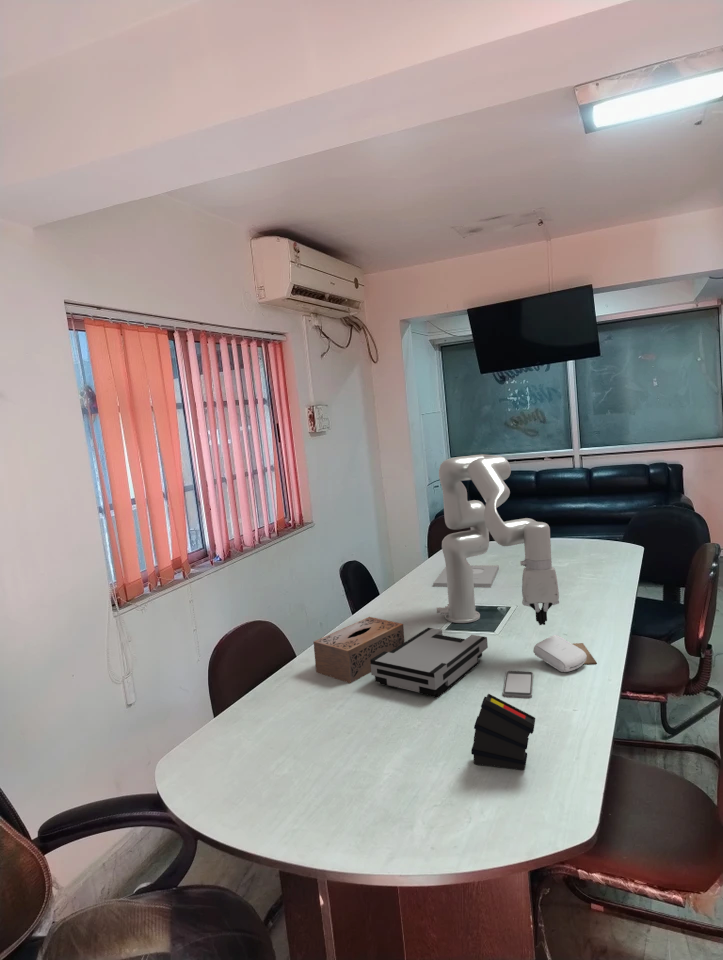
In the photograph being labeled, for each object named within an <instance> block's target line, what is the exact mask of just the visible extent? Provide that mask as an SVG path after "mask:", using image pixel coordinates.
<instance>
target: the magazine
mask: <svg viewBox="0 0 723 960" xmlns="http://www.w3.org/2000/svg"><path fill="white" fill-rule="evenodd" d="M475 720H476V721H475V723H474V725H473V729H474V736H473V744H472V747H471V755H473V764H474V765H478V766H485V767H491V768H493V767H494V768H503V769H510V770H511V769H512V770H518V771H524V770H525V768H526V764H527V760H528V752H526V750H527V749H528V745H529V736H530V734H531V735H533V733H534V731H535V724H536V716H533V715H531V714H529V713H528V712H525V711H524V710H522V709H519V708H518V707H515V706H514V705H512V704H510V703H508V702H506V701H504V700H502V699H500V698H498V697H496V696H494V695H493V694H491V693H487V695H486V696H484V697H483V699H482V702H481V705H480V711H479V714H478V716H477V717H476V719H475Z"/></svg>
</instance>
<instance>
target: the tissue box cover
mask: <svg viewBox="0 0 723 960" xmlns="http://www.w3.org/2000/svg"><path fill="white" fill-rule="evenodd" d="M404 629H405V628H404V623H401V622H396V621H391V620H386V619H381V618H378V617H373V616H368V617H366V618H364V619H361V620H359V621H356V622H354V623H352V624H350V625H347V626H345V627H343V628H342V629H341V628H340V629H339V630H337V631H334V632H332V633H329V634H328V635H325V636H323V637H320V638H319V639H317V640H314V641H313V651H314V662H315V663H314V664H315V672H316V673H317V674H321V675H322V676H326V677H328V678H329V677H330V678H333V679H335V680H338V681H341V682H344V683H345V682H346V683H348V684H352V683H354V682H356V681H358V680H359V679H362V678H363V677H365V676H367V675H369V674H371V662H370V660H371V659H372V658H374V657H376V656H377V655H379V654H380V653H382V652H384V651H385V652H390V651H392V650H393V649H395V648H397V647H398V646H400V645H401V644H403V643H405V642H406V641H405V631H404Z"/></svg>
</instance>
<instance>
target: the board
mask: <svg viewBox="0 0 723 960" xmlns="http://www.w3.org/2000/svg"><path fill="white" fill-rule="evenodd" d="M572 644H573V645H575V646H577V647H578V648H580V649H582V650H583V651H584V652H585V653H586V655H587V657H586V661H585V663H584V664H587V665H597V664H598V663H597V661H596V659H595V658H594V657H593V655H592V654H591V652H590V650H588V647H586V645H585V644H584V643H583V642H577V643H575V642H574V643H572Z"/></svg>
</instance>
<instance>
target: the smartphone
mask: <svg viewBox="0 0 723 960" xmlns="http://www.w3.org/2000/svg"><path fill="white" fill-rule="evenodd" d="M533 684H534V672H533V671H529V670H528V671H524V670H507V671H506V673H505V679H504V685H503V692H502V696H503V697H504V698H519V699H520V698H521V699H531V698H533V686H534V685H533Z"/></svg>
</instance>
